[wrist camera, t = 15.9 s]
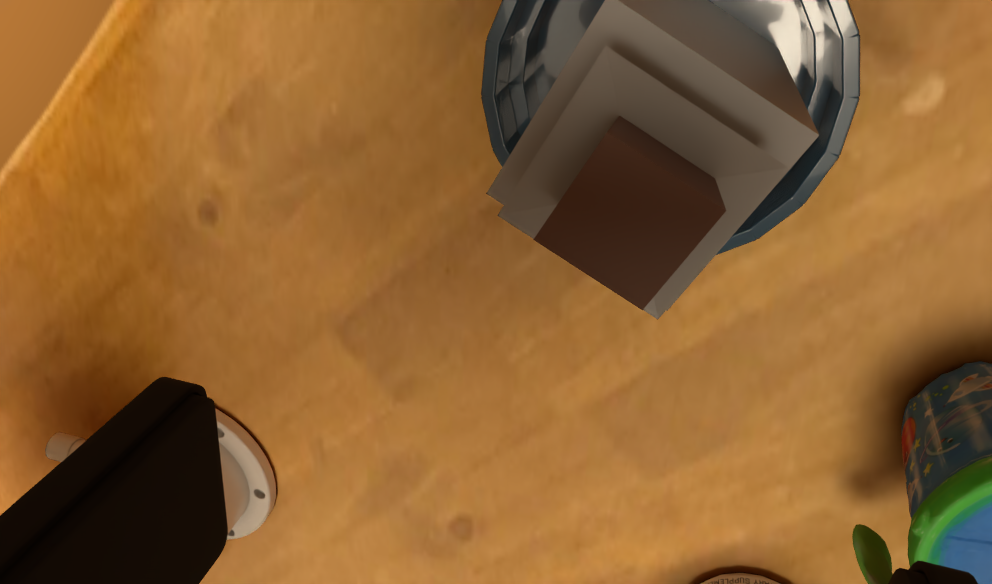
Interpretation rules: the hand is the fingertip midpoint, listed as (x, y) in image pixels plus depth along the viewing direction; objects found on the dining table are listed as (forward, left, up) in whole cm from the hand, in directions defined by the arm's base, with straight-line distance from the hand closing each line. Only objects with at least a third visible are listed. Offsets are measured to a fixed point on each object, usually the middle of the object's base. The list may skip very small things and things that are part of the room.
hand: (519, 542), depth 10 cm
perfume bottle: (0, +1, -27) cm, 27 cm away
